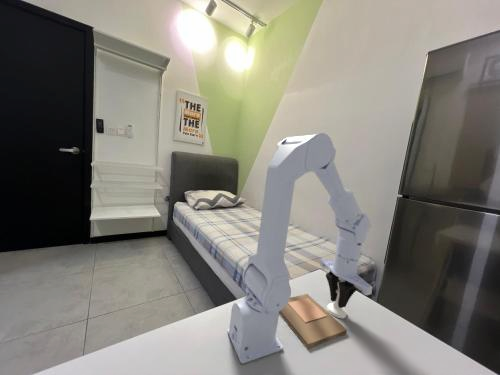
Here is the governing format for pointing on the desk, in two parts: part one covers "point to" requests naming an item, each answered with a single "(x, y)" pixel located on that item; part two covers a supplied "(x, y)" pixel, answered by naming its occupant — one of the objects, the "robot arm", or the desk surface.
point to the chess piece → (334, 307)
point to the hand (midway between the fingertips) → (338, 303)
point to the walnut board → (310, 321)
